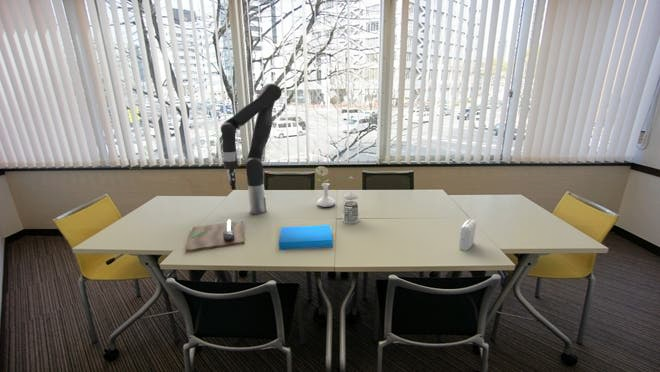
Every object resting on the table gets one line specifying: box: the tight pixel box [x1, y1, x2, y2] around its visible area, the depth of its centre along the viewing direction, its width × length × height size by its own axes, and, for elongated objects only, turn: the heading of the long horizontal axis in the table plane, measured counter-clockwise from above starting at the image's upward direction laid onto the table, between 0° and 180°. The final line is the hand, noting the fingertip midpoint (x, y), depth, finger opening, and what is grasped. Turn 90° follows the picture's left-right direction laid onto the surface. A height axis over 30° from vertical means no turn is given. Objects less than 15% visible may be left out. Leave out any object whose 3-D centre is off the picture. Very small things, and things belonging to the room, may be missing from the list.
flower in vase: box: [315, 165, 336, 208], centre depth 190 cm, size 13×11×25 cm
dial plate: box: [185, 220, 246, 254], centre depth 155 cm, size 26×25×2 cm
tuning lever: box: [223, 219, 235, 242], centre depth 155 cm, size 20×5×3 cm, turn 16°
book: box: [278, 224, 334, 250], centre depth 150 cm, size 17×4×25 cm
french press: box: [341, 176, 361, 224], centre depth 168 cm, size 10×12×25 cm
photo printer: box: [458, 219, 477, 251], centre depth 140 cm, size 10×4×12 cm, turn 140°
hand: (232, 187), depth 175 cm, fingers open, 8 cm apart
